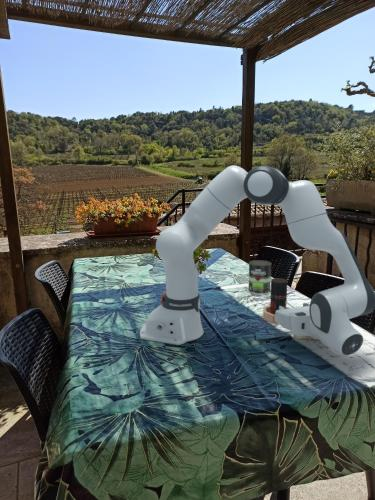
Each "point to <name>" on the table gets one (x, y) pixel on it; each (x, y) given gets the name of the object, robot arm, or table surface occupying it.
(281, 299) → the deodorant
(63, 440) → the table surface
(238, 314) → the table surface
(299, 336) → the beige square cloth
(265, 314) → the ring dish
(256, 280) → the coffee can
